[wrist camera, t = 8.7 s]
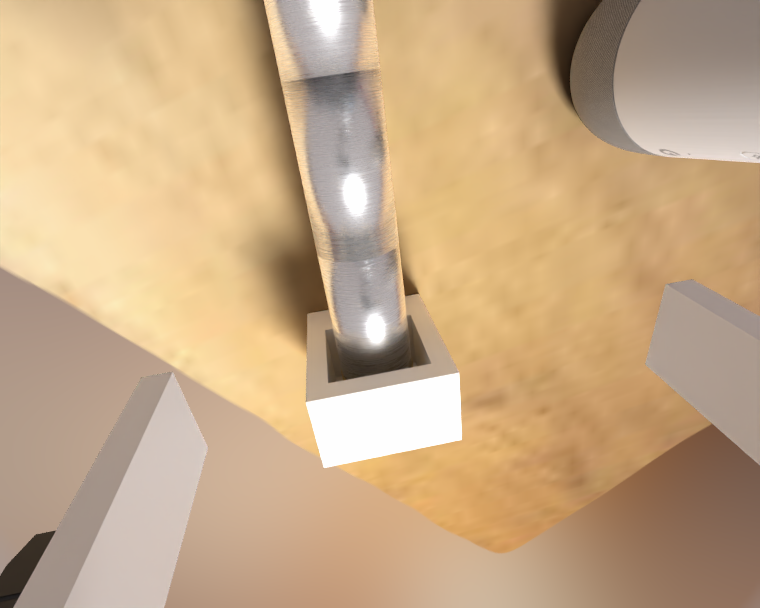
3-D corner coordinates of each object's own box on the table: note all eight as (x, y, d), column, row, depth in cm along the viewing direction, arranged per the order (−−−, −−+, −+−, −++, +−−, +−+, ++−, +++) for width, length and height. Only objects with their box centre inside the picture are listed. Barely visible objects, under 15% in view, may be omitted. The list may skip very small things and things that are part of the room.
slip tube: (235, -146, 16) (210, -218, 12) (347, -158, 17) (359, -232, 13) (344, 374, 29) (349, 420, 25) (407, 362, 29) (422, 406, 25)
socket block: (307, 313, 30) (305, 402, 22) (419, 293, 31) (459, 372, 22) (320, 368, 32) (323, 467, 24) (423, 349, 33) (461, 439, 25)
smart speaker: (732, 11, 25) (1145, -58, 12) (641, 165, 28) (890, 227, 16) (608, -67, 22) (977, -252, 10) (524, 113, 26) (718, 142, 13)
